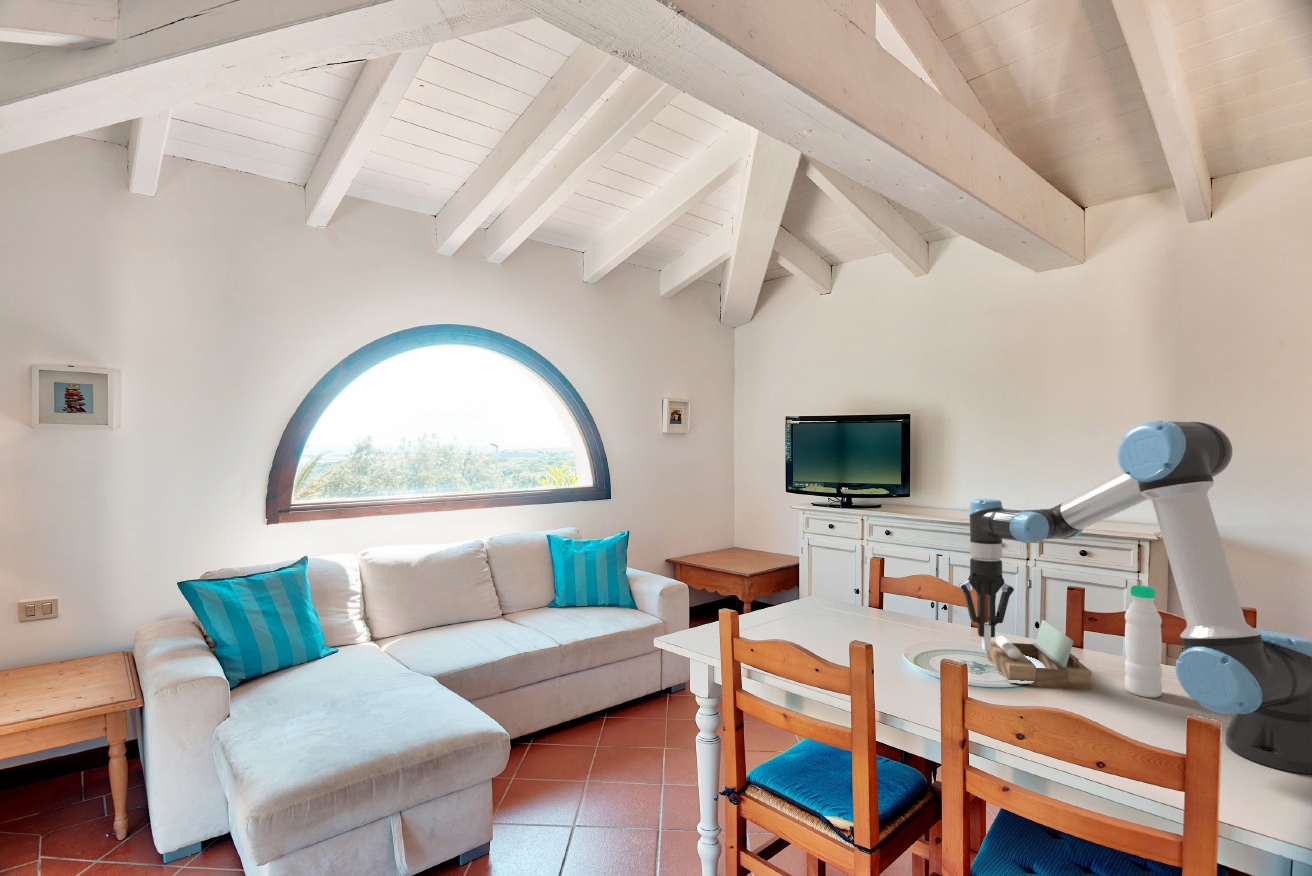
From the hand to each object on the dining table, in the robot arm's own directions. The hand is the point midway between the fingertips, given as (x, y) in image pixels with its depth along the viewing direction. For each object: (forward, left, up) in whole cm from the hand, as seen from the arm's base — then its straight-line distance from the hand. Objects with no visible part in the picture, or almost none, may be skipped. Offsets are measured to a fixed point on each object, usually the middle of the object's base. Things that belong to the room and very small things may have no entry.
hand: (986, 649), depth 173 cm
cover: (0, -15, +3) cm, 15 cm away
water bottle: (-10, -32, -5) cm, 34 cm away
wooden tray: (0, -12, -5) cm, 13 cm away
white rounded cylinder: (0, -5, +1) cm, 5 cm away
